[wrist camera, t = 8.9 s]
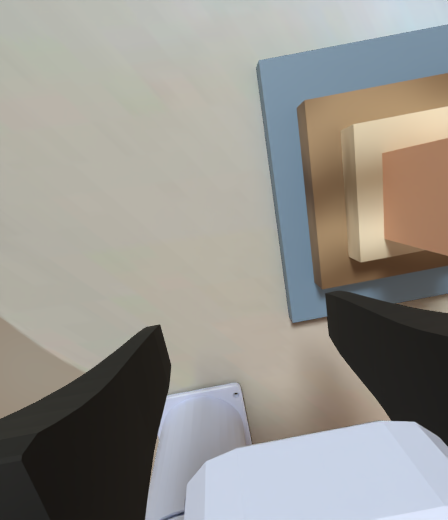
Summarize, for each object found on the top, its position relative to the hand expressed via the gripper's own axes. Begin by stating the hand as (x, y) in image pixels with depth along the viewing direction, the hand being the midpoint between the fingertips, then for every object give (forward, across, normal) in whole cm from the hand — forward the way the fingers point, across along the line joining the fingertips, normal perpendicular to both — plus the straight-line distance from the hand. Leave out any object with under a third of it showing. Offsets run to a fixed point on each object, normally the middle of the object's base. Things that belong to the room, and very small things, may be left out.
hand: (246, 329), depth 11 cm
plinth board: (+9, -12, -4) cm, 16 cm away
